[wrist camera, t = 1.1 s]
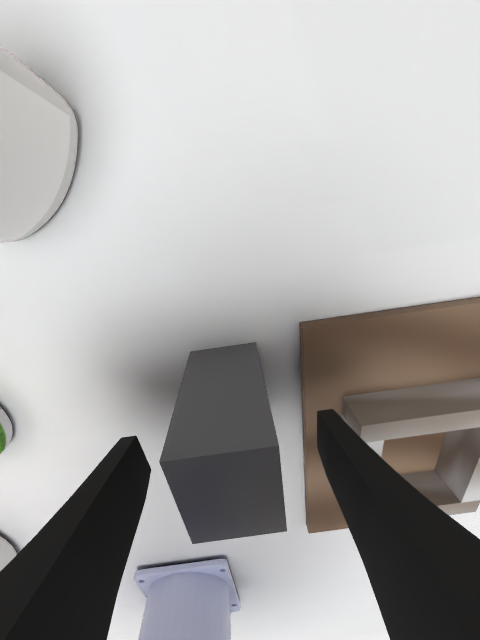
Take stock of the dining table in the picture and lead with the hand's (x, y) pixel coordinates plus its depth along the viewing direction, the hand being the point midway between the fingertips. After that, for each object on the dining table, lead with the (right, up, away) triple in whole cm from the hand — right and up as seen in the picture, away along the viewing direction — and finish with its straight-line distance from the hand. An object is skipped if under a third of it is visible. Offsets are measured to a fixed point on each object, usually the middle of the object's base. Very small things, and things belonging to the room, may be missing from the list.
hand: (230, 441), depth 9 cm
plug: (0, +1, +4) cm, 4 cm away
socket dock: (+10, -3, +6) cm, 12 cm away
